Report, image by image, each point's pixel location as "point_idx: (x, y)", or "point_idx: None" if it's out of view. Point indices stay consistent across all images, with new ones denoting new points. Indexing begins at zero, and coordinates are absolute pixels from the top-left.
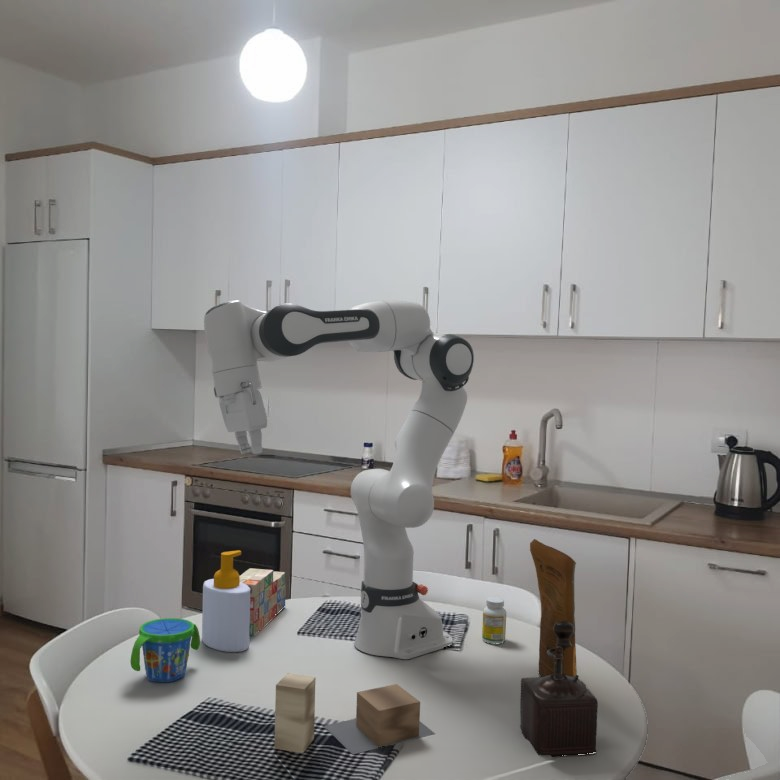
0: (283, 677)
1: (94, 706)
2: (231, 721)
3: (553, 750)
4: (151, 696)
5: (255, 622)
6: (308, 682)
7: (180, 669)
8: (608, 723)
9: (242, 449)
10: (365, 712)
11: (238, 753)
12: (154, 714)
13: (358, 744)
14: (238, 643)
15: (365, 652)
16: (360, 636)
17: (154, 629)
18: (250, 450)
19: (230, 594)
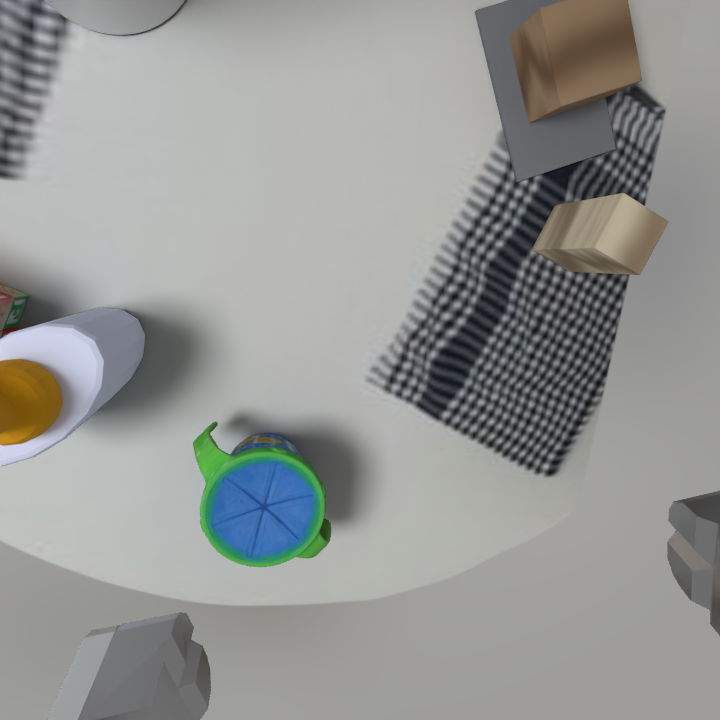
0: (612, 258)
1: (378, 558)
2: (465, 338)
3: None
4: (351, 478)
5: (3, 293)
6: (643, 210)
7: (292, 445)
8: None
9: (191, 717)
10: (580, 102)
11: (566, 325)
12: (421, 462)
13: (589, 132)
14: (139, 334)
15: (170, 16)
16: (129, 10)
17: (263, 534)
18: (175, 618)
19: (104, 381)
